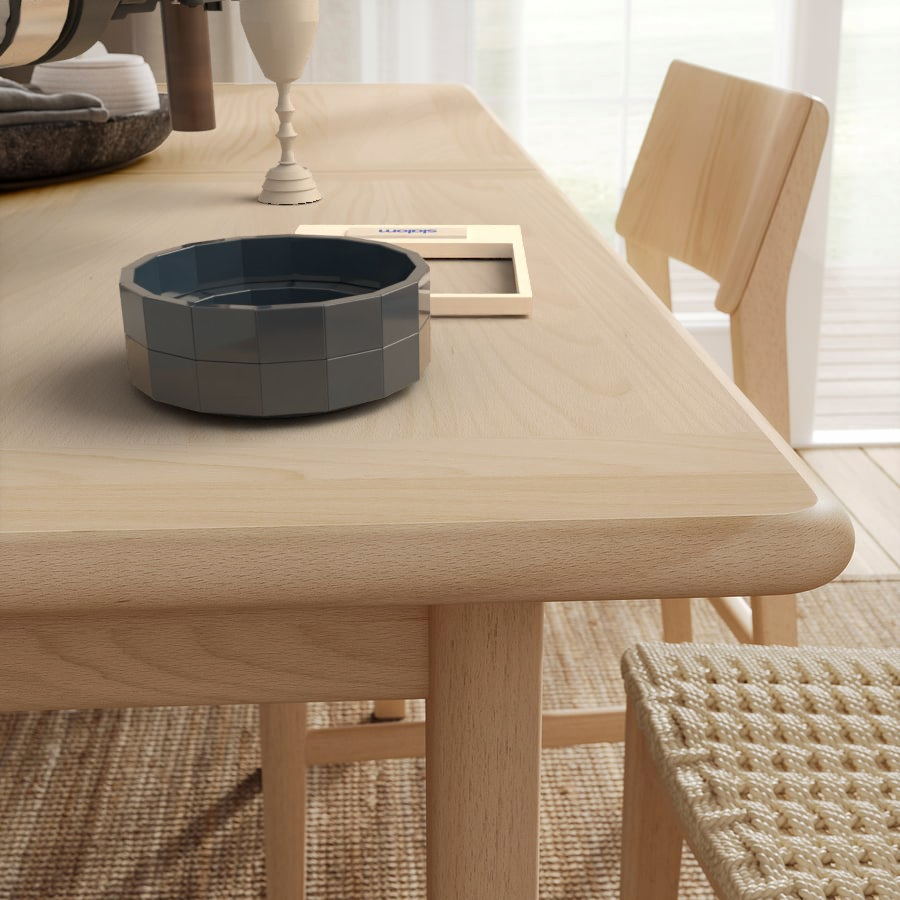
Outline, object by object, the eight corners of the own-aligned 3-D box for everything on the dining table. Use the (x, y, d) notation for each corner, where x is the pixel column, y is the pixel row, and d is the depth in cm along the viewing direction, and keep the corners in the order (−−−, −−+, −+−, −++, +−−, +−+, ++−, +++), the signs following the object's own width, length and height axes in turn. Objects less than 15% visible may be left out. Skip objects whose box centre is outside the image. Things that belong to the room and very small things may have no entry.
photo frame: (519, 222, 78) (532, 293, 61) (519, 238, 78) (532, 314, 61) (299, 221, 78) (252, 293, 61) (300, 238, 78) (254, 313, 62)
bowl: (68, 391, 51) (52, 279, 49) (267, 318, 61) (260, 223, 59) (303, 454, 45) (296, 327, 43) (482, 361, 55) (483, 255, 53)
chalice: (245, 191, 95) (228, -51, 88) (329, 188, 96) (318, -51, 89) (247, 209, 88) (229, -51, 81) (337, 205, 89) (327, -51, 82)
